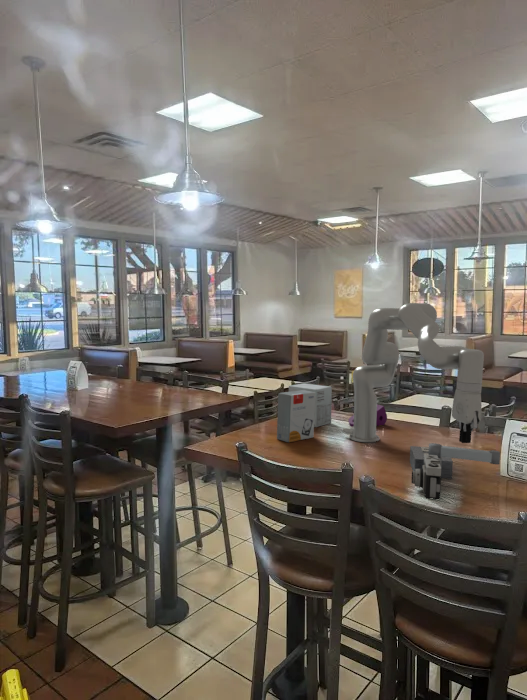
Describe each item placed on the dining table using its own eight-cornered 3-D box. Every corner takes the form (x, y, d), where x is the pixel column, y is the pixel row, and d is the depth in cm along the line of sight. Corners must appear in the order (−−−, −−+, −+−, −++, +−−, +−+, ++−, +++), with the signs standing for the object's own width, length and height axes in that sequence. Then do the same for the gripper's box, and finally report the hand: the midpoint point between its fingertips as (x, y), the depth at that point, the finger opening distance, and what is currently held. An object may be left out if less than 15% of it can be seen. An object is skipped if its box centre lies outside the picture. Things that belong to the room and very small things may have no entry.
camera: (410, 481, 163) (411, 451, 162) (437, 484, 161) (438, 453, 160) (411, 497, 150) (413, 464, 149) (440, 500, 148) (442, 467, 147)
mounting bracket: (362, 440, 235) (388, 420, 242) (357, 425, 232) (383, 406, 240) (349, 436, 243) (375, 417, 250) (344, 421, 240) (370, 402, 248)
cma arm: (428, 453, 167) (429, 442, 167) (499, 461, 159) (499, 450, 159) (427, 456, 164) (428, 445, 163) (499, 465, 155) (500, 454, 155)
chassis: (415, 479, 165) (416, 456, 164) (409, 462, 184) (410, 441, 183) (453, 482, 163) (454, 459, 162) (443, 464, 181) (444, 443, 181)
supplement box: (332, 423, 244) (333, 386, 242) (316, 427, 234) (317, 389, 232) (303, 417, 255) (304, 382, 253) (287, 421, 245) (287, 385, 243)
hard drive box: (288, 443, 206) (289, 395, 205) (276, 439, 212) (276, 392, 210) (314, 437, 217) (315, 391, 215) (301, 433, 222) (302, 389, 221)
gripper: (446, 383, 169) (442, 436, 171) (471, 391, 154) (467, 449, 156) (466, 383, 170) (462, 435, 172) (493, 391, 156) (488, 449, 158)
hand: (464, 442), depth 164 cm, fingers closed
